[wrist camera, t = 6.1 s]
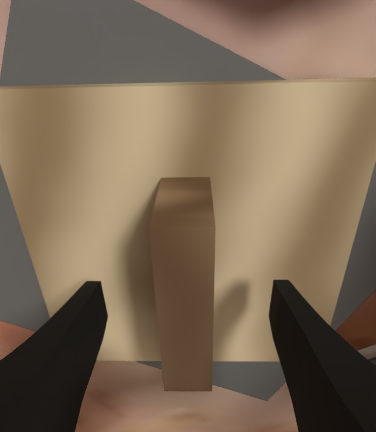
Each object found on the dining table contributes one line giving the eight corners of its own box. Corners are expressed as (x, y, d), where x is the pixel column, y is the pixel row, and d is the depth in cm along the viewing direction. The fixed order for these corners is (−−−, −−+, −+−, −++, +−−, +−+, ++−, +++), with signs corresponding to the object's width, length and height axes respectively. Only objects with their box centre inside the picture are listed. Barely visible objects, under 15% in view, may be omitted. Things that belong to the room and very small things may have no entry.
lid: (382, 77, 12) (493, 97, 7) (314, 346, 19) (350, 437, 15) (-8, 86, 12) (-121, 110, 8) (70, 346, 20) (33, 434, 15)
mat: (474, 177, 14) (481, 181, 14) (266, 395, 22) (266, 400, 22) (25, -56, 10) (19, -59, 10) (-29, 305, 19) (-34, 310, 18)
